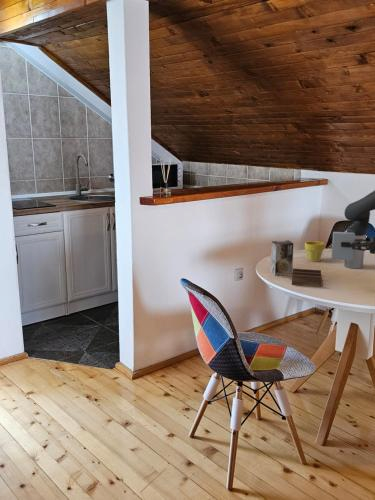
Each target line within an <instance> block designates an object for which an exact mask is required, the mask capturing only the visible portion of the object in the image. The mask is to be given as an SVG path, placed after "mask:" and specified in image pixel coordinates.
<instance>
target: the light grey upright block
mask: <svg viewBox="0 0 375 500" xmlns="http://www.w3.org/2000/svg"><path fill="white" fill-rule="evenodd" d="M354 239H355V233H348V232H347V231H346V232H345V231H343V232H342V231H333V232H332V242H331V243H332V244H331V245H332V246H331V260H339V261H340V260H341V261H342V260H343V261H345V260H353V251H354V249H352V248H349V247H341V242H354Z"/></svg>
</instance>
